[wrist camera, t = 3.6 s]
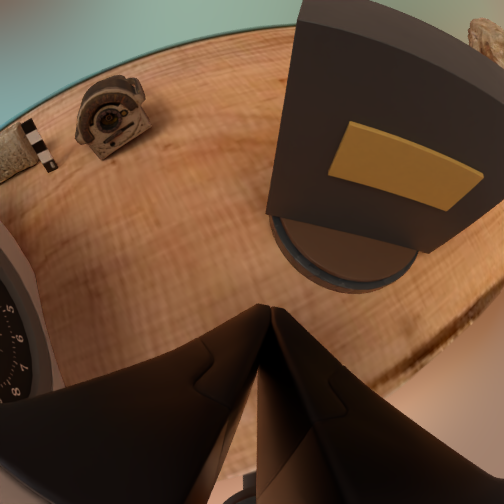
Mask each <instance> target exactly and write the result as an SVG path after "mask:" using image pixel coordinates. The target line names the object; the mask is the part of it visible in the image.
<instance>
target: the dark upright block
mask: <svg viewBox="0 0 504 504" xmlns="http://www.w3.org/2000/svg"><path fill="white" fill-rule="evenodd" d="M502 200H504V69H503V68H502V67H500V66H499V65H498V64H496V63H495V62H493V61H492V60H490V59H489V58H488V57H486V56H484V55H483V54H481V53H480V52H478V51H477V50H475V49H474V48H472V47H470V46H469V45H467V44H465V43H463V42H462V41H460V40H458V39H457V38H455V37H453V36H451V35H449V34H447V33H445V32H444V31H442V30H439V29H438V28H436V27H434V26H432V25H430V24H428V23H426V22H423V21H421V20H419V19H417V18H415V17H412V16H410V15H407V14H405V13H403V12H400V11H398V10H395V9H392V8H389V7H387V6H384V5H382V4H379V3H376V2H372V1H370V0H303V2H302V5H301V9H300V12H299V15H298V19H297V23H296V30H295V36H294V42H293V49H292V55H291V61H290V68H289V74H288V80H287V86H286V93H285V99H284V105H283V111H282V117H281V124H280V130H279V136H278V142H277V148H276V154H275V160H274V166H273V172H272V178H271V184H270V190H269V196H268V202H267V208H266V214H267V215H272V216H277V217H280V219H281V223H282V225H283V227H284V229H285V232H286V234H287V235H288V237H289V238H290V240H291V242H292V243H293V244H294V246H295V247H296V248H297V249H298V250H299V252H300V253H301V254H302V255H303V256H304V257H305V258H306V259H308V260H309V261H310V262H311V263H313V264H314V265H315V266H317V267H318V268H320V269H321V270H323V271H325V272H327V273H329V274H331V275H333V276H336V277H338V278H342V279H345V280H349V281H356V282H372V281H379V280H382V279H385V278H388V277H390V276H392V275H394V274H396V273H397V272H399V271H400V270H402V269H403V268H404V267H405V266H406V265H407V264H408V263H409V262H410V261H411V260H412V258H413V257H414V255H415V254H416V252H417V251H421V252H424V253H428V254H429V253H431V252H432V251H434V250H435V249H437V248H438V247H440V246H441V245H443V244H444V243H445V242H447V241H448V240H450V239H451V238H453V237H454V236H456V235H457V234H458V233H460V232H461V231H463V230H464V229H465V228H467V227H468V226H470V225H471V224H472V223H474V222H475V221H476V220H478V219H479V218H480V217H482V216H483V215H484V214H486V213H487V212H488V211H490V210H491V209H492V208H493V207H495V206H496V205H497V204H499V203H500V202H501V201H502Z"/></svg>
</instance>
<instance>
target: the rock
mask: <svg viewBox="0 0 504 504" xmlns="http://www.w3.org/2000/svg"><path fill="white" fill-rule="evenodd" d="M468 33H469V34H468V39H469V46H470V47H472V48H474V49H475V50H477V51H478V52H480V53H481V54H483V55H484V56H486V57H488V58H489V59H490V60H492V61H493V62H495V63H496V64H498V65H499V66H500V67H502V68H503V69H504V30H503V29H502V28H501V27H499V26H498V25H496V24H495V23H493V22H492V21H490V20H488V19H485V18H479V19H473V20H472V21H471V23H470V28H469V29H468Z"/></svg>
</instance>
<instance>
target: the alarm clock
mask: <svg viewBox="0 0 504 504" xmlns="http://www.w3.org/2000/svg"><path fill="white" fill-rule="evenodd" d="M62 388H65V385H64V382H63V379H62V376H61V374H60V371H59V368H58V365H57V362H56V359H55V356H54V353H53V349H52V346H51V343H50V339H49V335H48V332H47V328H46V324H45V320H44V316H43V312H42V307H41V303H40V298H39V293H38V288H37V283H36V277H35V274H34V272H33V270H32V268H31V266H30V264H29V262H28V260H27V258H26V257H25V255H24V254H23V252H22V250H21V249H20V247H19V246H18V244H17V242H16V241H15V239H14V237H13V236H12V235H11V233H10V232H9V231H8V230H7V228H6V227H5V226H4V224H3V223H2V222H1V220H0V403H9V402H14V401H18V400H22V399H26V398H30V397H34V396H37V395H41V394H44V393H48V392H51V391H55V390H58V389H62Z"/></svg>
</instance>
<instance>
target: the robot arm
mask: <svg viewBox="0 0 504 504" xmlns="http://www.w3.org/2000/svg"><path fill="white" fill-rule="evenodd" d="M257 370H258V396H257V479H256V499H257V500H256V504H504V479H500V478H496V477H493V476H492V475H490V474H488V473H487V472H485V471H484V470H482V469H480V468H479V467H478V466H476V465H475V464H473V463H472V462H470V461H469V460H467V459H466V458H464V457H463V456H462V455H460V454H459V453H457V452H456V451H454V450H453V449H451V448H450V447H449V446H447V445H446V444H444V443H443V442H442V441H440V440H439V439H437V438H436V437H435V436H433V435H432V434H430V433H429V432H428V431H426V430H425V429H423V428H422V427H421V426H419V425H418V424H417V423H415V422H414V421H412V420H411V419H410V418H408V417H407V416H406V415H404V414H403V413H402V412H400V411H399V410H398V409H396V408H395V407H394V406H392V405H391V404H390V403H388V402H387V401H386V400H384V399H383V398H382V397H380V396H379V395H378V394H377V393H375V392H374V391H373V390H371V389H370V388H369V387H368V386H366V385H365V384H364V383H363V382H362V381H361V380H360V379H358V378H357V377H356V376H355V375H354V374H353V373H352V372H351V371H350V370H348V369H347V368H346V367H345V366H344V365H343V366H342V364H341V363H340V362H339V361H338V360H337V359H336V358H335V357H334V356H333V355H332V354H331V353H330V352H329V351H328V350H327V349H326V348H325V347H323V346H322V345H321V344H320V343H319V342H318V341H317V340H316V339H315V338H314V337H313V336H312V335H311V334H310V333H309V332H308V331H307V330H306V329H305V328H304V327H303V326H302V325H301V324H300V323H298V322H297V321H296V320H295V319H294V318H293V317H292V316H291V315H290V314H289V313H288V312H287V311H286V310H285V309H283V308H278V307H271V308H270V306H268V305H264V304H255V305H254V306H252V307H250V308H249V309H247V310H245V311H244V312H242V313H240V314H238V315H237V316H235V317H233V318H232V319H230V320H228V321H226V322H225V323H223V324H221V325H219V326H218V327H216V328H214V329H212V330H211V331H209V332H207V333H205V334H204V335H202V336H200V337H198V338H195V339H194V340H192V341H190V342H188V343H186V344H184V345H182V346H180V347H178V348H176V349H174V350H172V351H169V352H167V353H165V354H162V355H160V356H157V357H154V358H152V359H149V360H146V361H144V362H141V363H138V364H135V365H132V366H130V367H127V368H124V369H121V370H118V371H115V372H112V373H109V374H106V375H103V376H100V377H97V378H94V379H91V380H88V381H85V382H81V383H78V384H75V385H72V386H68V387H65V388H62V389H58V390H55V391H51V392H48V393H44V394H41V395H37V396H34V397H30V398H26V399H22V400H18V401H14V402H9V403H0V504H207V502H208V499H209V497H210V494H211V491H212V490H213V487H214V485H215V483H216V480H217V478H218V475H219V473H220V470H221V468H222V465H223V463H224V460H225V458H226V455H227V453H228V450H229V447H230V445H231V442H232V440H233V437H234V434H235V432H236V429H237V426H238V424H239V421H240V418H241V416H242V413H243V410H244V408H245V405H246V402H247V399H248V397H249V394H250V391H251V388H252V385H253V383H254V380H255V377H256V374H257Z"/></svg>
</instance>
